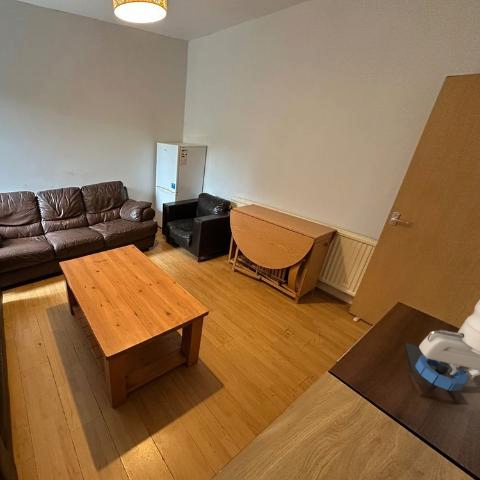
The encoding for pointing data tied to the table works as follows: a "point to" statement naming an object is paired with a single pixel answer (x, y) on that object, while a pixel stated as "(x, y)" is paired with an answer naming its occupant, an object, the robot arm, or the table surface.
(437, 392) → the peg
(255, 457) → the table surface
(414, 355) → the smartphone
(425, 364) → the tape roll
